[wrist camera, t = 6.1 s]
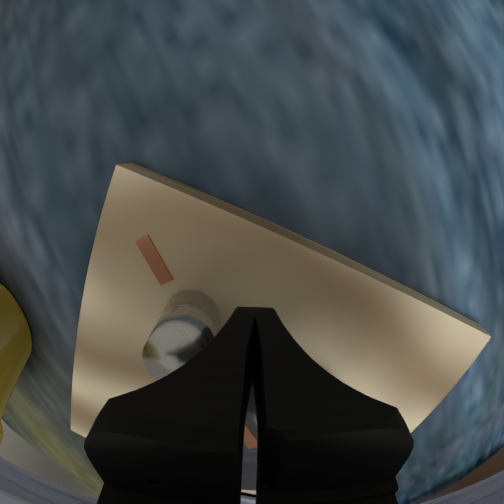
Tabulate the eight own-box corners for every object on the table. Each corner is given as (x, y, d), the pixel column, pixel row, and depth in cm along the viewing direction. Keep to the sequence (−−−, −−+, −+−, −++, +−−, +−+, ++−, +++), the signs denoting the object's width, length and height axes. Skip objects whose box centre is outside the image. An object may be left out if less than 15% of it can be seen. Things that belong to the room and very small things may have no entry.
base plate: (321, 488, 20) (324, 503, 18) (78, 415, 17) (70, 430, 16) (478, 323, 14) (492, 337, 13) (131, 162, 12) (115, 165, 10)
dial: (359, 440, 15) (371, 483, 12) (219, 472, 16) (214, 513, 13) (292, 247, 11) (304, 286, 8) (96, 320, 12) (63, 362, 9)
